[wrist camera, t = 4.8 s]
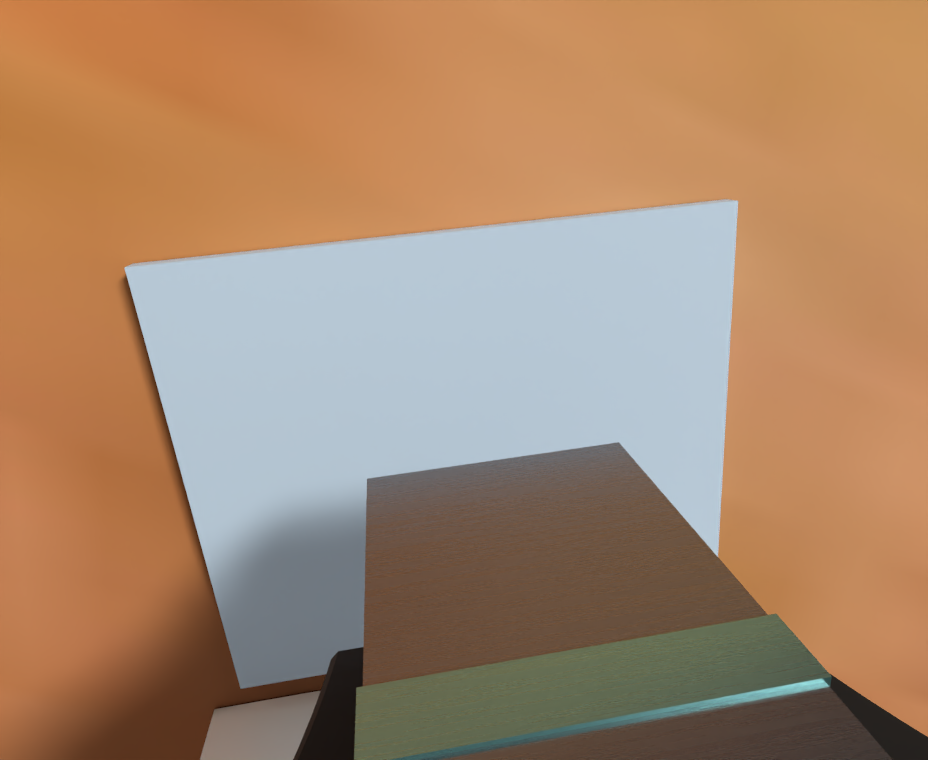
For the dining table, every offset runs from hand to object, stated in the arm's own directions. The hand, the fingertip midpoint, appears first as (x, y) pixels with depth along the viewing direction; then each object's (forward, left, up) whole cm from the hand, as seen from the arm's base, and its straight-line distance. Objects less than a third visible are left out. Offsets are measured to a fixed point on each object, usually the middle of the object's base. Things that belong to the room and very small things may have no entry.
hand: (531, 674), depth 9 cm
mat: (0, 0, -7) cm, 7 cm away
